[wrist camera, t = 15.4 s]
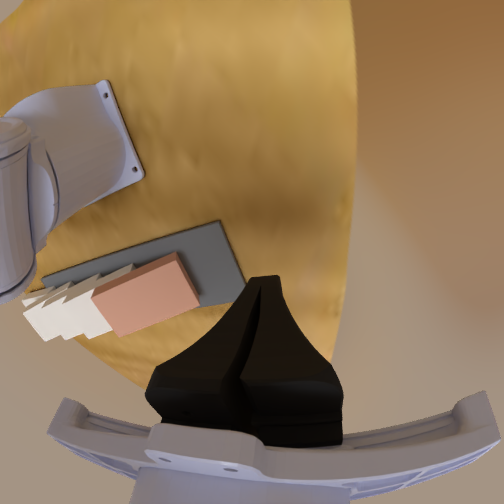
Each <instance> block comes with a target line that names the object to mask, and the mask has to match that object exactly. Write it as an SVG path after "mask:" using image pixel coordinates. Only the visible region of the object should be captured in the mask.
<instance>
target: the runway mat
mask: <svg viewBox="0 0 504 504" xmlns="http://www.w3.org/2000/svg"><path fill="white" fill-rule="evenodd" d="M173 252H176V253H177V255H178V257H179V258H180V260H181V262H182V264H183V266H184V268H185V270H186V272H187V274H188V276H189V278H190V280H191V282H192V283H193V285H194V287H195V289H196V291H197V293H198V295H199V300H200V306H198V307H195V308H200V307H206V306H212V305H218V304H224V303H229V302H235V300H236V299H237V298H238V296H239V295H240V293H241V292H242V290H243V289H244V287H245V286H246V283H245V280H244V278H243V276H242V273H241V271H240V269H239V266H238V264H237V261H236V259H235V257H234V254H233V252H232V249H231V247H230V245H229V242H228V240H227V237H226V235H225V233H224V230H223V228H222V225H221V223H220V221H216V222H212V223H209V224H205V225H202V226H199V227H195V228H192V229H188V230H185V231H182V232H178V233H175V234H172V235H168V236H165V237H162V238H158V239H155V240H152V241H149V242H146V243H142V244H139V245H136V246H133V247H130V248H127V249H124V250H121V251H118V252H114V253H111V254H108V255H105V256H102V257H99V258H96V259H94V260H91V261H88V262H85V263H82V264H79V265H76V266H73V267H70V268H68V269H65V270H62V271H59V272H56V273H54V274H51V275H48V276H45V277H43V278H41V281H42V282H43V284H44V285H45V287H46V288H49V287H52V286H55V288H56V289H57V288H59V287H61V286H63V285H64V284H66V283H68V282H70V281H72V282H73V283H74V285H76V284H78V283H80V282H82V281H84V280H86V279H88V278H90V277H92V276H94V275H96V274H98V273H100V274H101V276H102V277H105V276H107V275H109V274H111V273H113V272H115V271H117V270H119V269H121V268H123V267H125V266H128V265H130V264H132V263H133V264H134V266H135V268H136V269H138V268H140V267H142V266H144V265H146V264H149V263H151V262H153V261H155V260H158V259H160V258H162V257H164V256H167V255H169V254H171V253H173ZM193 309H194V308H193Z"/></svg>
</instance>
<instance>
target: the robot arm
mask: <svg viewBox="0 0 504 504" xmlns="http://www.w3.org/2000/svg"><path fill="white" fill-rule="evenodd" d="M107 93H108V97H107V98H106V94H107ZM135 167H137V169H138V171H135V169H134V168H135ZM143 177H144V171H143V168H142V166H141V164H140V161H139V159H138V157H137V154H136V152H135V149H134V147H133V144H132V142H131V140H130V137H129V135H128V132H127V129H126V127H125V124H124V122H123V119H122V117H121V114H120V111H119V109H118V106H117V103H116V100H115V98H114V95H113V92H112V89H111V87H110V84H109V82H108V81H107V80H101V81H100V82H98V83H97V84H96V85H79V86H67V87H58V88H50V89H46V90H43V91H40V92H37V93H35V94H33V95H31V96H29V97H27V98H25V99H23V100H22V101H20V102H19V103H17V104H16V105H15V106H13V107H12V108H11V109H10V110H9V111H8V112H7V113H6V114H5V115H4V116H3V117H0V305H1V304H4V303H7V302H9V301H11V300H13V299H15V298H16V297H17V296H19V295H20V294H21V293H23V292H24V291H25V290H26V289H27V287H28V286H29V285H30V284H31V282H32V281H33V278H34V276H35V274H36V270H37V260H36V254H37V253H38V252H39V251H40V250H41V249H42V248H44V247H45V246H46V239H47V235H48V234H49V233H50V232H51V231H52V230H53V229H55V228H56V227H57V226H58V225H60V224H61V223H62V222H64V221H65V220H66V219H68V218H69V217H70V216H72V215H73V214H74V213H76V212H77V211H79V210H80V209H81V208H83V207H86V206H88V205H90V204H91V203H93V202H95V201H97V200H99V199H101V198H103V197H105V196H107V195H109V194H111V193H113V192H116V191H118V190H120V189H122V188H124V187H126V186H128V185H130V184H133V183H135V182H137V181H139V180H141V179H142V178H143ZM145 397H146V400H147V401H148V402H149V404H150V405H151V406H152V407H153V408H154V409H155V410H156V411H157V413H158V414H159V415H160V416H161V417H162V420H161V423H158V424H155V425H154V426H152V427H146V426H142V425H137V424H133V423H129V422H124V421H121V420H117V419H113V418H109V417H106V416H103V415H99V414H96V413H93V412H90V411H89V410H88V409H87V408H86V407H85V406H84V405H82V404H81V403H79V402H77V401H74V400H71V399H69V398H63V400H62V402H61V404H60V406H59V408H58V410H57V412H56V414H55V416H54V418H53V420H52V422H51V424H50V426H49V428H48V430H47V434H48V435H49V436H50V437H52V438H53V439H54V440H56V441H57V442H59V443H60V444H61V445H63V446H64V447H65V448H67V449H69V450H70V451H71V452H73V453H74V454H76V455H78V456H80V457H82V458H84V459H86V460H88V461H90V462H93V463H95V464H97V465H99V466H102V467H104V468H106V469H109V470H111V471H114V472H116V473H119V474H121V475H124V476H126V477H129V478H131V479H134V480H136V483H135V486H134V489H133V493H132V496H131V499H130V503H129V504H350V500H356V499H361V498H366V497H370V496H375V495H379V494H384V493H388V492H391V491H395V490H399V489H402V488H405V487H409V486H412V485H415V484H418V483H421V482H424V481H427V480H430V479H432V478H435V477H438V476H440V475H443V474H446V473H448V472H451V471H453V470H456V469H458V468H460V467H463V466H465V465H467V464H470V463H472V462H474V461H475V460H476V459H478V458H479V457H481V456H482V455H483V454H484V453H486V452H487V451H489V450H490V449H491V448H493V447H494V446H495V445H496V444H497V443H499V442H500V440H501V437H500V433H499V430H498V427H497V423H496V420H495V417H494V414H493V411H492V408H491V405H490V403H489V399H488V397H487V394H486V391H481V392H478V393H476V394H473V395H470V396H468V397H465V398H463V399H461V400H460V401H458V402H457V403H456V404H455V406H454V408H453V409H452V410H450V411H447V412H444V413H441V414H438V415H435V416H431V417H428V418H424V419H420V420H417V421H413V422H409V423H405V424H400V425H396V426H391V427H386V428H381V429H376V430H371V431H364V432H358V433H351V434H344V435H343V430H342V405H343V398H344V397H343V390H342V386H341V384H340V381H339V379H338V377H337V375H336V372H335V371H334V369H333V367H332V365H331V364H330V363H329V362H328V361H327V360H326V359H325V358H324V357H323V356H322V355H321V354H320V353H319V352H318V351H317V350H316V349H315V348H314V347H313V345H312V344H311V343H310V342H309V341H308V339H307V338H306V337H305V336H304V334H303V333H302V331H301V330H300V328H299V327H298V325H297V324H296V322H295V320H294V319H293V317H292V315H291V313H290V311H289V309H288V307H287V305H286V302H285V300H284V297H283V293H282V287H281V281H280V277H279V276H278V275H271V276H261V277H251V278H250V279H249V281H248V282H247V284H246V286H245V287H244V289H243V290H242V292H241V293H240V295H239V296H238V298H237V299H236V300H235V302H234V303H233V304H232V306H231V307H230V308H229V310H228V311H227V312H226V313H225V314H224V316H223V317H222V318H221V319H220V320H219V321H218V322H217V324H216V325H215V326H214V327H213V328H212V329H211V330H210V331H208V332H207V333H206V334H205V335H204V336H203V337H201V338H200V339H199V340H198V341H197V342H195V343H194V344H193V345H191V346H190V347H189V348H187V349H186V350H184V351H183V352H181V353H180V354H178V355H177V356H175V357H173V358H171V359H170V360H168V361H166V362H164V363H162V364H160V365H158V366H156V368H155V370H154V372H153V374H152V376H151V379H150V381H149V384H148V387H147V389H146V392H145Z"/></svg>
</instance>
